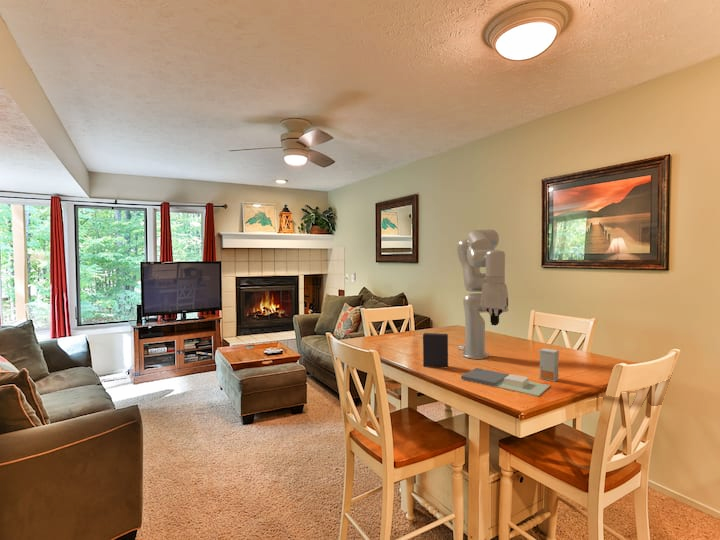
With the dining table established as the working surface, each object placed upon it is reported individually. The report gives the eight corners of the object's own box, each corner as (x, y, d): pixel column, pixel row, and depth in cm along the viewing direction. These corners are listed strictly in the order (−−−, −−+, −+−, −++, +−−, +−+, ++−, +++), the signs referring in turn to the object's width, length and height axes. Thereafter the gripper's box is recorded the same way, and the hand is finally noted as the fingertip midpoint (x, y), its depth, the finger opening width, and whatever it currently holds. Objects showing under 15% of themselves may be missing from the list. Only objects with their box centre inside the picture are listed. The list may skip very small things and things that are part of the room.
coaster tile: (504, 384, 150) (504, 378, 149) (510, 380, 155) (510, 373, 155) (522, 388, 145) (522, 381, 145) (528, 383, 150) (528, 377, 150)
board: (461, 379, 158) (461, 375, 158) (476, 371, 168) (476, 368, 168) (494, 386, 148) (494, 382, 148) (508, 378, 159) (508, 374, 159)
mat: (494, 386, 148) (494, 385, 148) (508, 378, 159) (508, 377, 159) (538, 396, 138) (538, 395, 138) (550, 386, 148) (550, 385, 148)
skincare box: (539, 378, 157) (539, 349, 157) (543, 376, 160) (543, 347, 160) (555, 382, 153) (555, 352, 153) (558, 379, 156) (559, 350, 156)
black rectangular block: (448, 365, 178) (447, 333, 177) (447, 368, 174) (447, 335, 173) (424, 364, 181) (423, 332, 180) (423, 366, 177) (422, 334, 176)
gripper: (473, 280, 160) (473, 323, 161) (509, 282, 150) (509, 328, 151) (481, 279, 166) (481, 321, 167) (516, 280, 156) (516, 325, 157)
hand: (494, 324), depth 159 cm, fingers closed
